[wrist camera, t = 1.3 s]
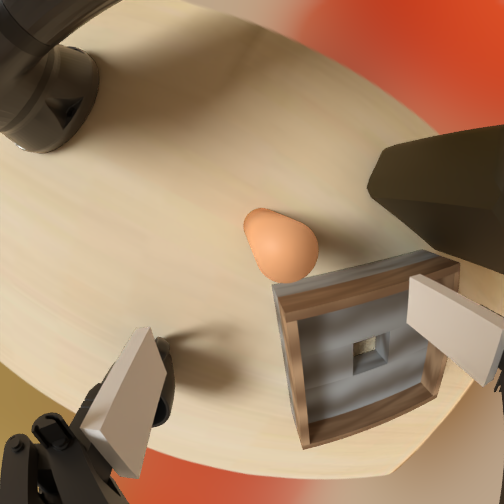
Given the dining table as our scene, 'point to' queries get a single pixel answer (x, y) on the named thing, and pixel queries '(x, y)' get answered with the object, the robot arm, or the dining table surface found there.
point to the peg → (281, 245)
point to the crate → (351, 331)
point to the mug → (168, 386)
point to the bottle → (448, 192)
